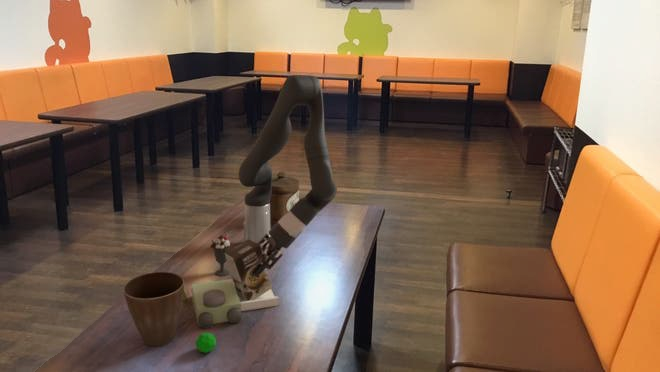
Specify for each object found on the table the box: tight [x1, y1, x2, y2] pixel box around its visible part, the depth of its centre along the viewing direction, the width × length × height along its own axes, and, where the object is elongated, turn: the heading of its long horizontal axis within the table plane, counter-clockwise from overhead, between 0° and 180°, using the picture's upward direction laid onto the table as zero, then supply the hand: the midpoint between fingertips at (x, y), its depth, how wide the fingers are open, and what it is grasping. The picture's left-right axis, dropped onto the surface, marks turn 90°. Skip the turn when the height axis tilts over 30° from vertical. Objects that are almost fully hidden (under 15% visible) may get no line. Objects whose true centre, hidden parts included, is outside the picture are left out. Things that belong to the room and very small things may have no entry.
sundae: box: [210, 229, 232, 277], centre depth 180 cm, size 7×7×15 cm
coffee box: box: [225, 239, 273, 301], centre depth 162 cm, size 9×6×16 cm
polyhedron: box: [195, 331, 217, 354], centre depth 138 cm, size 5×5×5 cm
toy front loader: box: [191, 278, 280, 329], centre depth 160 cm, size 19×24×7 cm
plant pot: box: [122, 271, 185, 347], centre depth 141 cm, size 15×15×16 cm
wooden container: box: [270, 171, 300, 228], centre depth 226 cm, size 15×15×22 cm
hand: (251, 269), depth 163 cm, fingers closed on coffee box, 8 cm apart
